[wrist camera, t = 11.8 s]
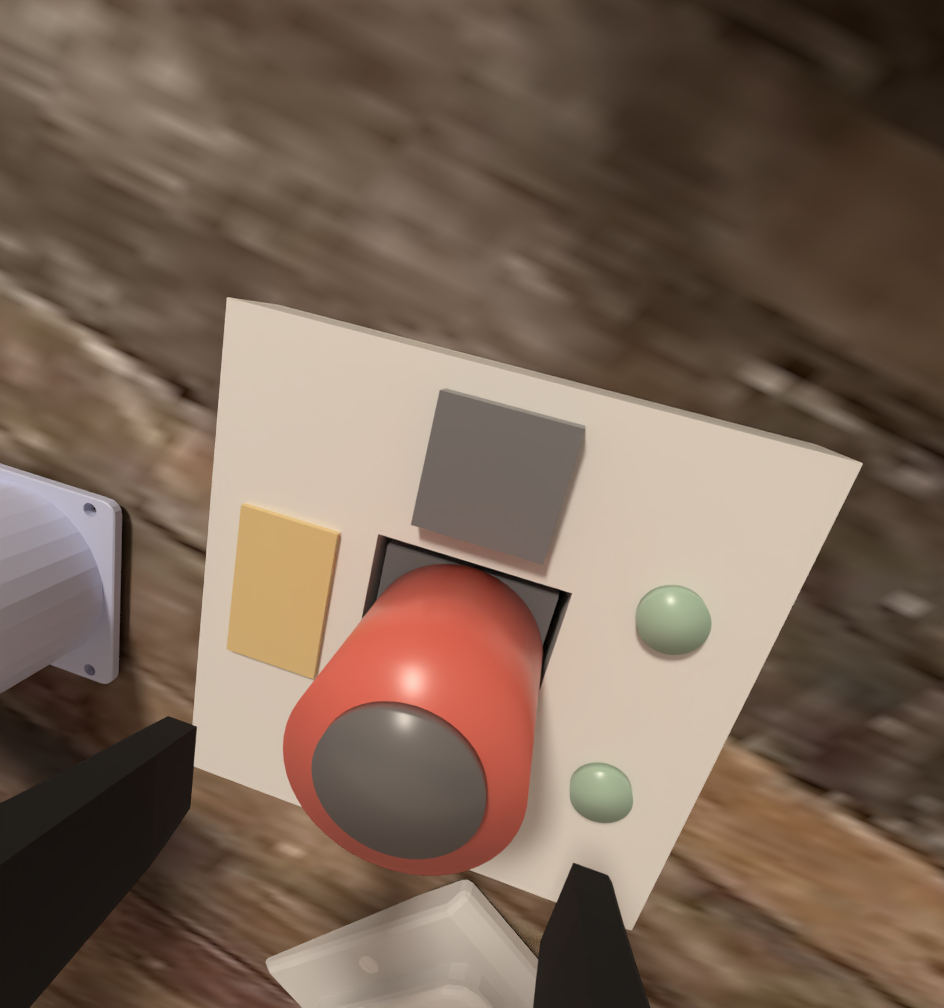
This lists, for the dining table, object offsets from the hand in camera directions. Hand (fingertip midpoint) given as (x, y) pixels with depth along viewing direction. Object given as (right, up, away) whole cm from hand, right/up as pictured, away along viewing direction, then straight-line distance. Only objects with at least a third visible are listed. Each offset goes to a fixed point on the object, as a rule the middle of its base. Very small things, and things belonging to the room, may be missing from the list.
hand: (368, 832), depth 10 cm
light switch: (0, -16, +15) cm, 22 cm away
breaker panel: (+2, +2, +8) cm, 9 cm away
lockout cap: (+1, +2, +6) cm, 6 cm away
